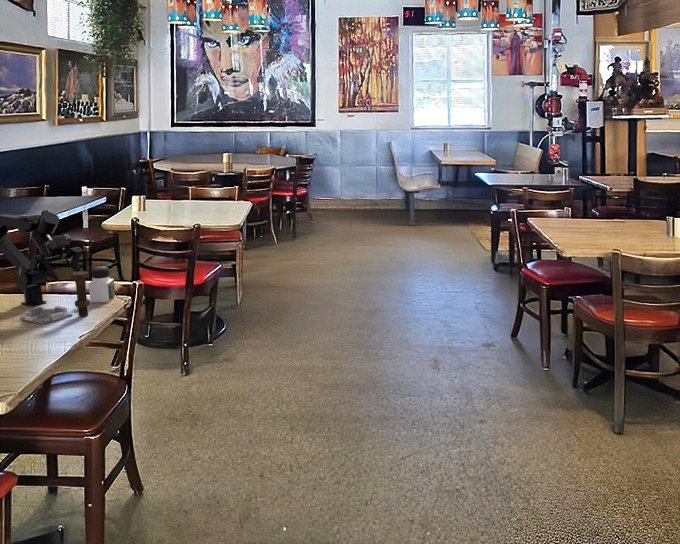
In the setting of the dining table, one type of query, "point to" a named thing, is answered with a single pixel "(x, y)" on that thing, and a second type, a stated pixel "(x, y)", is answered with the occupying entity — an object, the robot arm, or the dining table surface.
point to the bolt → (81, 292)
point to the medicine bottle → (101, 285)
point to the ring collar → (46, 315)
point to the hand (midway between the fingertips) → (69, 277)
